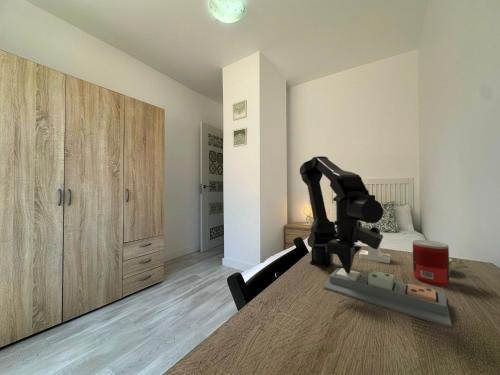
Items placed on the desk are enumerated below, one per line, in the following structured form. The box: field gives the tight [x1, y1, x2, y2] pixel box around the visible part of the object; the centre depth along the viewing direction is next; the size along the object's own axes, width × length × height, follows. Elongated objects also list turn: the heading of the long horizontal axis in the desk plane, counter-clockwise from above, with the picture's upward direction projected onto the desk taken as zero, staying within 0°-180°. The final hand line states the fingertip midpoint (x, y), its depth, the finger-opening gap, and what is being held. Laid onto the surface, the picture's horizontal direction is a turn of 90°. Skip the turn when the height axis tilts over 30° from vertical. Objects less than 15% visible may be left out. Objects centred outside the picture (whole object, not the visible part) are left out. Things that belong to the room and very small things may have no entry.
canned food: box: [412, 239, 450, 287], centre depth 60 cm, size 8×8×11 cm
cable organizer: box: [358, 244, 391, 264], centre depth 79 cm, size 5×10×10 cm, turn 52°
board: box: [323, 267, 453, 329], centre depth 53 cm, size 25×14×2 cm, turn 49°
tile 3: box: [407, 283, 436, 302], centre depth 48 cm, size 5×5×2 cm
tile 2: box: [368, 270, 395, 291], centre depth 53 cm, size 5×5×2 cm
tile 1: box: [336, 267, 361, 282], centre depth 58 cm, size 5×5×2 cm
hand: (347, 272), depth 58 cm, fingers closed, pressing on tile 1
